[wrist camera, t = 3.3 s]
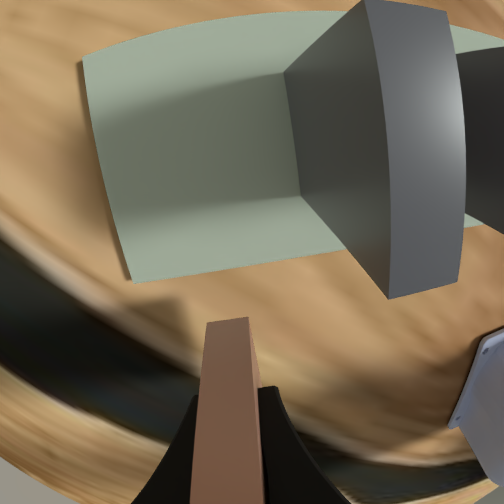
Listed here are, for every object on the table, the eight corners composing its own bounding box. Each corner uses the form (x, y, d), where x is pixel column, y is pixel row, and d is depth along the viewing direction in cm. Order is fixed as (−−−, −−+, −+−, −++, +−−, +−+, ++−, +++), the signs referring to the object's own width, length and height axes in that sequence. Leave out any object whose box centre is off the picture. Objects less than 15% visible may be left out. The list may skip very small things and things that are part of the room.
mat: (577, 203, 12) (581, 204, 12) (136, 279, 12) (133, 284, 12) (575, 71, 9) (579, 72, 8) (86, 58, 9) (82, 56, 9)
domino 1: (338, 190, 11) (457, 281, 5) (300, 196, 11) (388, 299, 5) (323, 69, 9) (445, 11, 3) (283, 71, 9) (363, -2, 3)
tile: (265, 401, 12) (283, 559, 6) (231, 405, 12) (235, 563, 6) (248, 316, 10) (265, 525, 4) (206, 322, 10) (188, 528, 4)
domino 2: (429, 180, 11) (567, 246, 5) (401, 183, 11) (539, 255, 5) (420, 70, 9) (568, 58, 3) (390, 68, 9) (539, 43, 3)
